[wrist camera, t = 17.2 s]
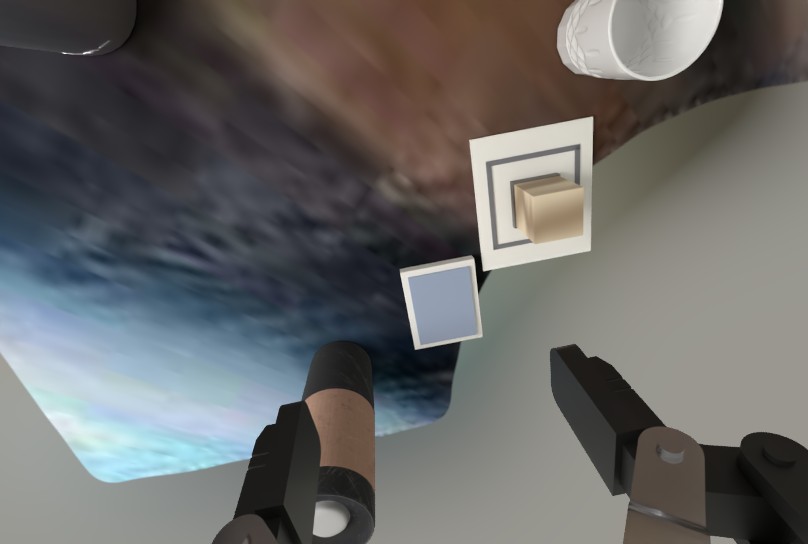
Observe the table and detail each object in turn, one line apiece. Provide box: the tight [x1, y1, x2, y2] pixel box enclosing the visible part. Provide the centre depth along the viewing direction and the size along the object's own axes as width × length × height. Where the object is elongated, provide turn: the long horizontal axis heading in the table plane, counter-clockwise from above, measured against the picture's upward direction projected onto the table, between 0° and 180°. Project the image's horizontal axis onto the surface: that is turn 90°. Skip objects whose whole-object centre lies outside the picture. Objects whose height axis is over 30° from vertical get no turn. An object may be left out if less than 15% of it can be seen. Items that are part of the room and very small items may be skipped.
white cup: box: [557, 0, 723, 81], centre depth 32 cm, size 8×8×10 cm
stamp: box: [510, 173, 584, 244], centre depth 40 cm, size 5×5×6 cm
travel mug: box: [301, 341, 375, 544], centre depth 40 cm, size 8×8×20 cm
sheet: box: [469, 117, 593, 271], centre depth 42 cm, size 14×12×1 cm
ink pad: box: [400, 255, 483, 350], centre depth 46 cm, size 10×8×1 cm
